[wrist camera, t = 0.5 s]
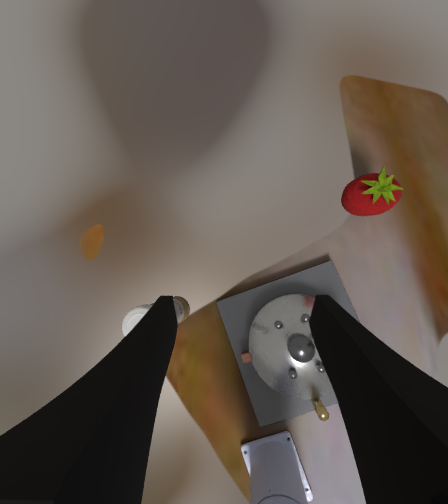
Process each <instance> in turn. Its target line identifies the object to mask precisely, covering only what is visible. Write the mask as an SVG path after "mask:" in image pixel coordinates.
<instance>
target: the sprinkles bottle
mask: <svg viewBox="0 0 448 504" xmlns="http://www.w3.org/2000/svg"><path fill="white" fill-rule="evenodd" d="M173 301H174V306H175V311H176V316H177V321H178V324H179V323H180V322H183V321H184V320H185V319H186V318H187V317H188V315H189V311H190V307H189V304H188V302H187V301H186V300H185V299H184V298H182V297H179V296H175V297H173ZM153 304H154V303H153ZM153 304H150V305H148V304H146V305H141V306H137V307H135V308H133V309H131V310H130V311H129V312H128V313H127V314H126V316H125V317H124V320H123V323H122V330H123V334H124V336H126V335H127V334H128V333H129V332H130V331H131V330H132V329H133V328H134V327H135V325H136V324H137V323H138V322H139V321H140V320H141V319H142V317H143V316H144V315H145V314H146V313H147V311H148V310H149V309H150V308H151V307H152V305H153Z"/></svg>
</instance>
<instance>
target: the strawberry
mask: <svg viewBox="0 0 448 504" xmlns="http://www.w3.org/2000/svg"><path fill="white" fill-rule="evenodd" d="M394 175H395V174H393V175H392V174H391V176H388V175H386V174H385V169H384V167H383V168H382V170H381V172H380V174H379V173H372V174H366V175H363V176H360V177H359V178H357V179H355V180H353V181H351V182H350V183H349V184H348V185H347V186H346V187H345V189H344V191H343V194H342V198H341V203H342V206H343V207H344V209H345V210H346V211H348V212H349V213H351V214H353V215H357V216H371V215H378V214H381V213H384V212H386V211H388V210H389V209H391V208H392V207H393V206H394V205H395V204H396V203H397V202H398V201H399V199H400V197H401V194H402V190H404V189H403V188H401V186H400V184H399V183H398V182H397V181H396V180H395V179H394V178H393V177H394Z"/></svg>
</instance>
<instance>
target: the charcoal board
mask: <svg viewBox="0 0 448 504" xmlns="http://www.w3.org/2000/svg"><path fill="white" fill-rule="evenodd" d="M286 294H304V295H308V296H311V297H314V298H315V296H316V295H329V296H330V297H332V298H333V299H334V300H335V301H336V302H337V303H338V304H339V305H340V306H342V307H343V308H344V309H345V310H346V311H347V312H348V313H349V314H350V315H351V316H353V317H354V318H355V319H356V320H357V321H358V322H359V320H358V318H357V316H356V313H355V311H354V309H353V307H352V304H351V302H350V300H349V298H348V295H347V293H346V291H345V289H344V286H343V284H342V282H341V280H340V277H339V275H338V273H337V271H336V268H335V266H334V264H333V262H332V260H331V261H327V262H325V263H322V264H319V265H316V266H314V267H311V268H308V269H305V270H303V271H300V272H297V273H294V274H292V275H289V276H286V277H283V278H280V279H278V280H275V281H272V282H269V283H267V284H264V285H261V286H258V287H256V288H253V289H250V290H247V291H245V292H242V293H239V294H236V295H234V296H231V297H228V298H225V299H222V300H220V301H217V302H216V303H217V306H218V309H219V311H220V314H221V317H222V320H223V323H224V326H225V329H226V332H227V334H228V337H229V340H230V343H231V346H232V349H233V352H234V355H235V357H236V360H237V363H238V366H239V369H240V372H241V375H242V378H243V380H244V383H245V386H246V389H247V392H248V395H249V398H250V401H251V403H252V406H253V409H254V412H255V415H256V418H257V421H258V424H259V426H260V427H262V426H266V425H269V424H272V423H275V422H279V421H282V420H285V419H288V418H291V417H295V416H298V415H301V414H304V413H308V412H311V411H314V410H315V409H314V407H313V404H312V402H311V400H310V399H294V398H291V397H287V396H285V395H282V394H280V393H278V392H277V391H275V390H274V389H272V388H271V387H269V386H268V385H267V384H266V383H265V382H264V381H263V380H262V378H261V377H260V376H259V374H258V373H257V371H256V370H255V367H254V365H253V363H252V361H250V362H245V363H243V360H242V356H241V352H242V351H246V350H249V332H250V327H251V324H252V321H253V319H254V317H255V315H256V314H257V312H258V311H259V310H260V309H261V308H262V307H263V306H264V305H265V304H266V303H267V302H269V301H270V300H272V299H274V298H276V297H279V296H282V295H286ZM359 323H360V322H359ZM319 398H320V399H321V401H322V403H323V405H324V406H325V407H327V406H330V405H333V404H337V403H338V401H337V398H336V395H335V393H334V390H333V391H331V392H330V393H328V394H326V395H324V396H322V397H319Z"/></svg>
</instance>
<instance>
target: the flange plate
mask: <svg viewBox="0 0 448 504" xmlns="http://www.w3.org/2000/svg"><path fill="white" fill-rule="evenodd" d="M314 300H315V298H314V297H311V296H308V295H304V294H286V295H282V296H279V297H276V298H274V299H272V300H270V301H269V302H267V303H266V304H265V305H264V306H263V307H262V308H261V309H260V310H259V311H258V312H257V314H256V315H255V317H254V319H253V321H252V324H251V327H250V332H249V350H246V351H242V352H241V356H242V360H243V363H245V362H250V361H252V363H253V365H254V367H255V370H256V371H257V373H258V374H259V376H260V377H261V378H262V380H263V381H264V382H265V383H266V384H267V385H268V386H269V387H271V388H272V389H274V390H275V391H277V392H278V393H280V394H282V395H285V396H287V397H291V398H294V399H315V398H318V397H322V396H324V395H326V394H328V393H330V392H331V391H333V388H332V385H331V383H330V380H329V378H328V376H327V373H326V371H325V368H324V366H323V364H322V361H321V359H320V356H319V354H318V351H317V349H316V346H315V344H314V341H313V337H312V334H311V330H310V326H309V320H310V316H311V312H312V308H313V304H314Z"/></svg>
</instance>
